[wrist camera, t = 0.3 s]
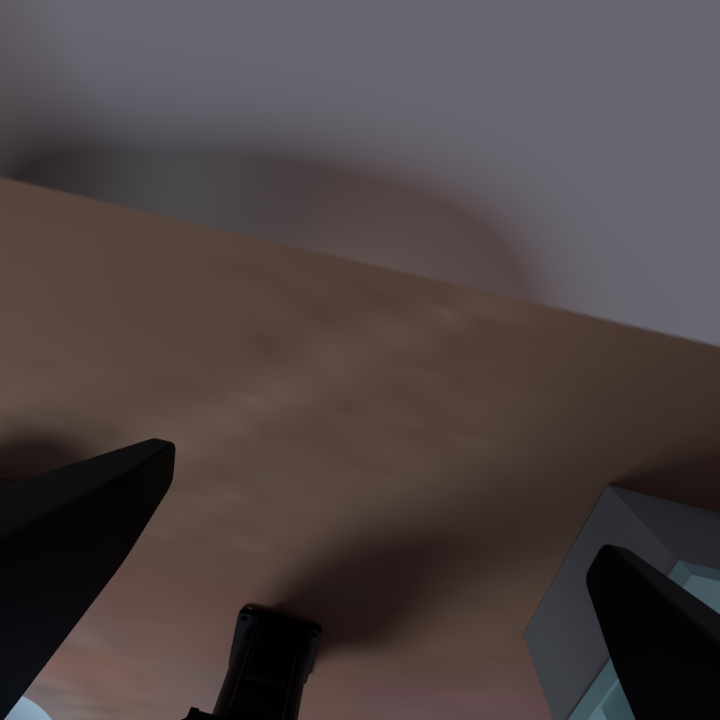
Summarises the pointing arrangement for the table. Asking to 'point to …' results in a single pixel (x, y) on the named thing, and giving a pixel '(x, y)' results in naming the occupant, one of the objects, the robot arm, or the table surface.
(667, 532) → the tub
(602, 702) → the lid
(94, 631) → the table surface
